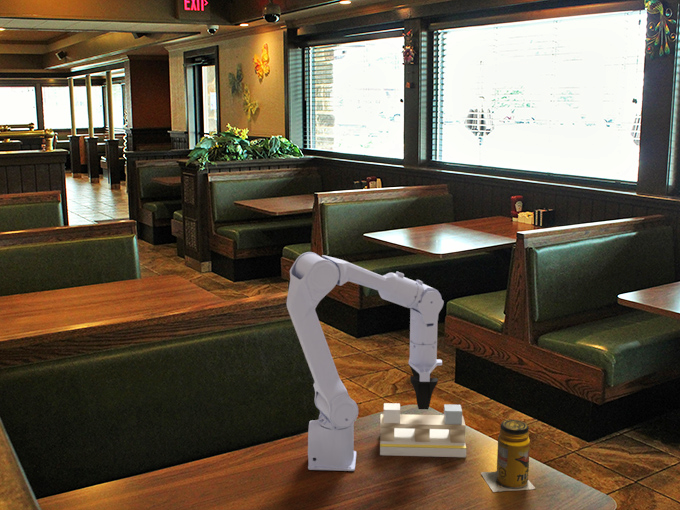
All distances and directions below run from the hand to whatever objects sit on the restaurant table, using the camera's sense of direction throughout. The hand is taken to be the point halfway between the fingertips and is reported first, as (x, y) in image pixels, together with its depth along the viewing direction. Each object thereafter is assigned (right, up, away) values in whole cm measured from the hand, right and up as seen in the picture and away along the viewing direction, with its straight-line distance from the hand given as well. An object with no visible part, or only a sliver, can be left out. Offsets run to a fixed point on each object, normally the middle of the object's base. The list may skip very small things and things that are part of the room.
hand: (422, 401), depth 150 cm
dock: (0, -10, +2) cm, 10 cm away
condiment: (+15, -13, -13) cm, 24 cm away
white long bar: (0, -8, +2) cm, 8 cm away
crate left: (-7, -4, +1) cm, 8 cm away
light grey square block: (+6, -4, 0) cm, 8 cm away
